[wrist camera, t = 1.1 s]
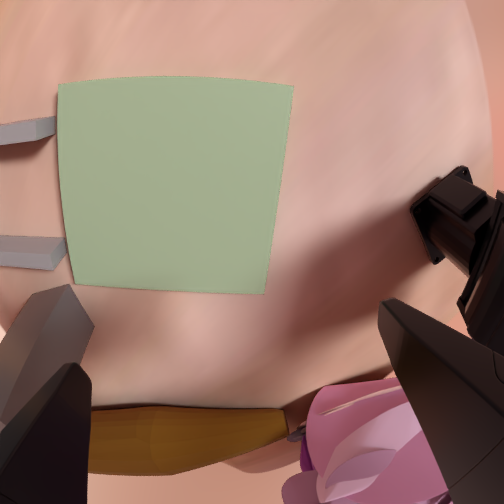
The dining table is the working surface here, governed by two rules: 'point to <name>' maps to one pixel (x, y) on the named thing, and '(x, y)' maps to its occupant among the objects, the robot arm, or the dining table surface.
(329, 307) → the dining table surface
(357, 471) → the flower arrangement
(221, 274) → the two-tone flat tray
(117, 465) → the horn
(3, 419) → the chute block
